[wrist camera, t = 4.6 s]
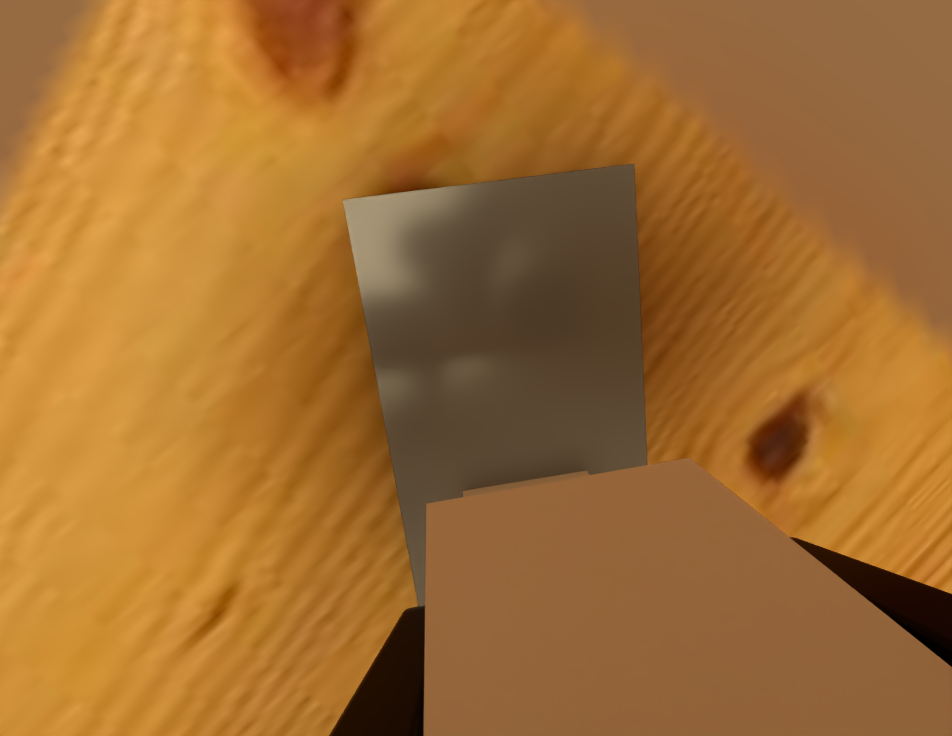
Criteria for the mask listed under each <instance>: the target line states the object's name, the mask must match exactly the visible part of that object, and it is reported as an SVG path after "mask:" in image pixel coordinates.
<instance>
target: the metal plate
mask: <svg viewBox="0 0 952 736" xmlns="http://www.w3.org/2000/svg"><path fill="white" fill-rule="evenodd" d="M343 203H344V209H345V214H346V219H347V225H348V230H349V236H350V241H351V246H352V252H353V257H354V262H355V268H356V273H357V278H358V284H359V289H360V295H361V300H362V305H363V311H364V316H365V321H366V327H367V332H368V337H369V343H370V348H371V353H372V359H373V364H374V370H375V375H376V380H377V386H378V391H379V396H380V402H381V407H382V412H383V418H384V423H385V429H386V434H387V439H388V445H389V450H390V455H391V461H392V466H393V471H394V477H395V482H396V488H397V493H398V498H399V504H400V509H401V514H402V520H403V525H404V530H405V536H406V541H407V547H408V552H409V557H410V563H411V568H412V573H413V579H414V584H415V589H416V595H417V600H418V606H424V605H425V579H426V504H427V503H433V502H439V501H445V500H450V499H456V498H462V497H463V491H466V490H472V489H478V488H484V487H490V486H496V485H502V484H508V483H514V482H520V481H526V480H532V479H538V478H545V477H551V476H557V475H563V474H569V473H575V472H581V471H587V472H588V473H589V474H590V475H593V474H599V473H605V472H611V471H616V470H622V469H628V468H634V467H639V466H645V465H647V444H646V421H645V398H644V375H643V352H642V329H641V307H640V284H639V261H638V238H637V215H636V192H635V169H634V164H627V165H619V166H611V167H603V168H595V169H587V170H579V171H571V172H563V173H555V174H547V175H539V176H531V177H523V178H514V179H506V180H498V181H490V182H482V183H474V184H466V185H458V186H450V187H442V188H434V189H426V190H418V191H410V192H402V193H394V194H385V195H377V196H369V197H361V198H353V199H345V200H343Z"/></svg>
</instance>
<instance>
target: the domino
mask: <svg viewBox="0 0 952 736" xmlns="http://www.w3.org/2000/svg"><path fill="white" fill-rule="evenodd" d="M424 736H952V667H951V666H950V665H948V664H947V663H946V662H945V661H943V660H942V659H941V658H940V657H938V656H937V655H936V654H935V653H933V652H932V651H931V650H930V649H928V648H927V647H926V646H925V645H923V644H922V643H921V642H920V641H918V640H917V639H916V638H915V637H913V636H912V635H911V634H910V633H908V632H907V631H906V630H905V629H903V628H902V627H901V626H900V625H898V624H897V623H896V622H895V621H893V620H892V619H891V618H890V617H888V616H887V615H886V614H885V613H883V612H882V611H881V610H880V609H878V608H877V607H876V606H875V605H873V604H872V603H871V602H870V601H868V600H867V599H866V598H865V597H863V596H862V595H861V594H860V593H858V592H857V591H856V590H855V589H853V588H852V587H851V586H850V585H848V584H847V583H846V582H845V581H843V580H842V579H841V578H840V577H838V576H837V575H836V574H835V573H833V572H832V571H831V570H830V569H828V568H827V567H826V566H825V565H823V564H822V563H821V562H820V561H818V560H817V559H816V558H815V557H813V556H812V555H811V554H810V553H808V552H807V551H806V550H805V549H803V548H802V547H801V546H800V545H798V544H797V543H796V542H795V541H793V540H792V539H791V538H790V537H788V536H787V535H786V534H785V533H783V532H782V531H781V530H780V529H778V528H777V527H776V526H775V525H773V524H772V523H771V522H770V521H768V520H767V519H766V518H765V517H763V516H762V515H761V514H759V513H758V512H757V511H756V510H754V509H753V508H752V507H751V506H749V505H748V504H747V503H746V502H744V501H743V500H742V499H741V498H739V497H738V496H737V495H736V494H734V493H733V492H732V491H731V490H729V489H728V488H727V487H726V486H724V485H723V484H722V483H721V482H719V481H718V480H717V479H716V478H714V477H713V476H712V475H711V474H709V473H708V472H707V471H706V470H704V469H703V468H702V467H701V466H699V465H698V464H697V463H696V462H694V461H693V460H692V459H691V458H685V459H679V460H674V461H668V462H662V463H656V464H651V465H645V466H639V467H634V468H628V469H622V470H616V471H611V472H605V473H599V474H593V475H588V476H582V477H576V478H571V479H565V480H559V481H553V482H548V483H542V484H536V485H530V486H525V487H519V488H513V489H508V490H502V491H496V492H490V493H485V494H479V495H473V496H467V497H462V498H456V499H450V500H445V501H439V502H433V503H427V504H426V579H425V660H424Z"/></svg>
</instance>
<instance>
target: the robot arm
mask: <svg viewBox="0 0 952 736" xmlns="http://www.w3.org/2000/svg"><path fill="white" fill-rule="evenodd" d="M790 538H791V539H792V540H793V541H795V542H796V543H797V544H798V545H800V546H801V547H802V548H803V549H805V550H806V551H807V552H808V553H810V554H811V555H812V556H813V557H815V558H816V559H817V560H818V561H820V562H821V563H822V564H823V565H825V566H826V567H827V568H828V569H830V570H831V571H832V572H833V573H835V574H836V575H837V576H838V577H840V578H841V579H842V580H843V581H845V582H846V583H847V584H848V585H850V586H851V587H852V588H853V589H855V590H856V591H857V592H858V593H860V594H861V595H862V596H863V597H865V598H866V599H867V600H868V601H870V602H871V603H872V604H873V605H875V606H876V607H877V608H878V609H880V610H881V611H882V612H883V613H885V614H886V615H887V616H888V617H890V618H891V619H892V620H893V621H895V622H896V623H897V624H898V625H900V626H901V627H902V628H903V629H905V630H906V631H907V632H908V633H910V634H911V635H912V636H913V637H915V638H916V639H917V640H918V641H920V642H921V643H922V644H923V645H925V646H926V647H927V648H928V649H930V650H931V651H932V652H933V653H935V654H936V655H937V656H938V657H940V658H941V659H942V660H943V661H945V662H946V663H947V664H948V665H950V666H951V667H952V594H950V593H948V592H945V591H942V590H939V589H936V588H934V587H931V586H928V585H925V584H923V583H920V582H917V581H914V580H911V579H909V578H906V577H903V576H900V575H898V574H895V573H892V572H889V571H886V570H884V569H881V568H878V567H875V566H872V565H870V564H867V563H864V562H861V561H859V560H856V559H853V558H850V557H847V556H845V555H842V554H839V553H836V552H834V551H831V550H828V549H825V548H822V547H820V546H817V545H814V544H811V543H809V542H806V541H803V540H800V539H797V538H794V537H790ZM424 660H425V605H424V606H418V607H413V608H408V609H406V610H405V611H404V612H403V613H402V615H401V617H400V618H399V620H398V622H397V623H396V625H395V627H394V628H393V630H392V632H391V633H390V635H389V637H388V638H387V640H386V642H385V643H384V645H383V647H382V648H381V650H380V652H379V653H378V655H377V657H376V658H375V660H374V662H373V663H372V665H371V667H370V668H369V670H368V672H367V673H366V675H365V677H364V678H363V680H362V682H361V683H360V685H359V687H358V688H357V690H356V692H355V693H354V695H353V697H352V698H351V700H350V702H349V703H348V705H347V707H346V708H345V710H344V712H343V713H342V715H341V717H340V718H339V720H338V722H337V723H336V725H335V727H334V728H333V730H332V732H331V733H330V735H329V736H424Z"/></svg>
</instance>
